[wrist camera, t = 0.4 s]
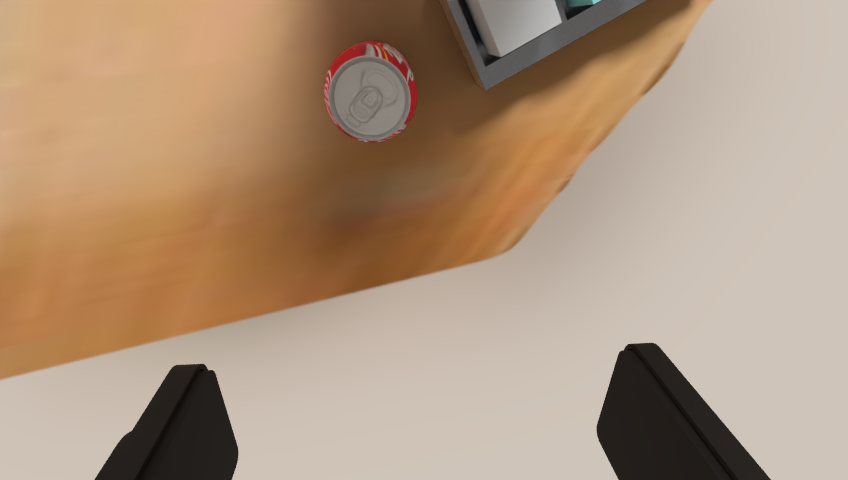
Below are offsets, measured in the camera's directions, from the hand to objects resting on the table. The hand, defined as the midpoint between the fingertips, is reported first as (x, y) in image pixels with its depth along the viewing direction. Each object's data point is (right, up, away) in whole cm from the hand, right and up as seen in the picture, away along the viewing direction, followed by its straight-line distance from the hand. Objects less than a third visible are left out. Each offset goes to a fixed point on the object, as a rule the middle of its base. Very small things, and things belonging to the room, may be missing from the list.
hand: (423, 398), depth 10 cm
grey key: (+7, +23, +25) cm, 34 cm away
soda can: (-5, +19, +30) cm, 36 cm away
